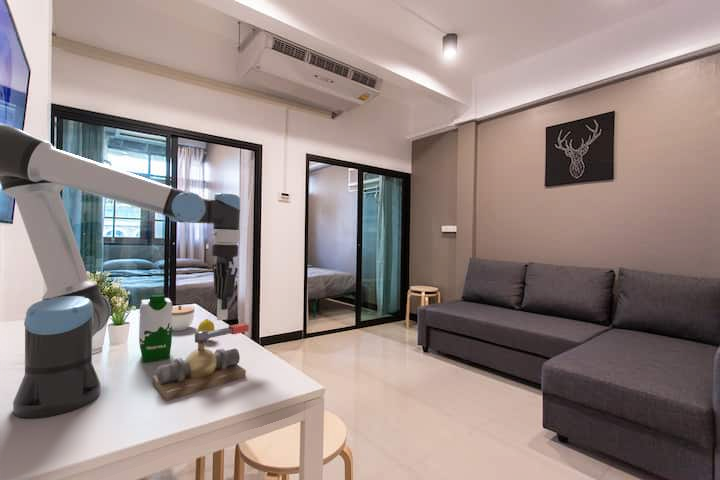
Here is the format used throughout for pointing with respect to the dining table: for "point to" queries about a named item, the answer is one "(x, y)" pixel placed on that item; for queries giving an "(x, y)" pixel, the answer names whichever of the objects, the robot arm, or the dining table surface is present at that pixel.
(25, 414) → the robot arm
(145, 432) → the dining table surface
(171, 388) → the valve rig
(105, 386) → the dining table surface
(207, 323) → the lemon
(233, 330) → the lever
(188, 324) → the lidded jar
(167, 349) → the milk carton
